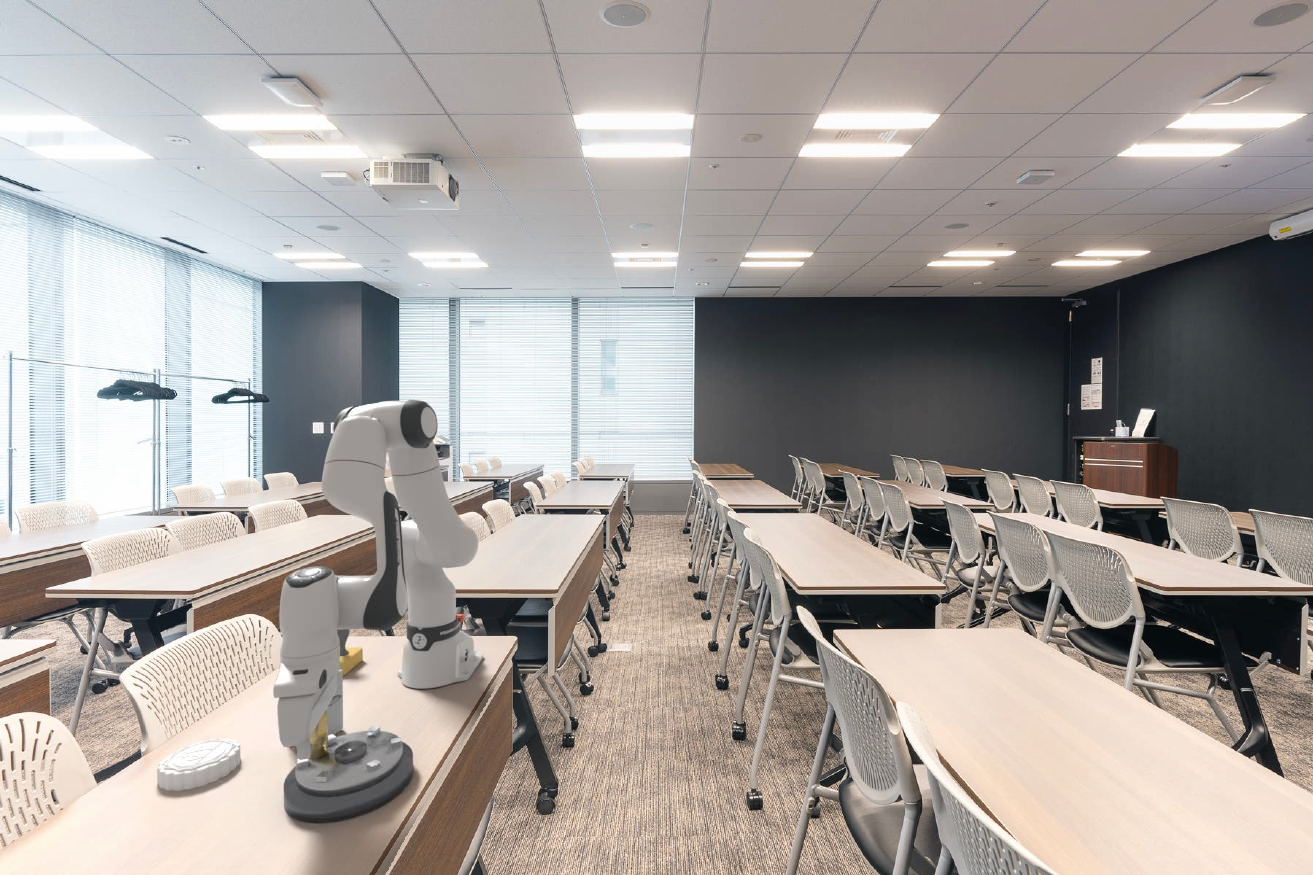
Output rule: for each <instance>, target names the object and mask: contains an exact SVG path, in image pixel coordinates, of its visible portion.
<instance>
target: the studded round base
mask: <svg viewBox="0 0 1313 875" xmlns="http://www.w3.org/2000/svg"><path fill="white" fill-rule="evenodd" d="M310 742H311V744H312V754H311V756H310V758H309V759H305V760H299V759H298V758H297V761H296V762H297V763H296V765H295V766H296V769H295V776H296V786H297V787H298V789H299V790H300V791H302V792H304V793H306V794H309V795H313V796H337V795H343V794H348V793H352V792H356V791H359V790H362V789H365V788H367V787H370V786H372V785H374V784H376V783H378V782H380V781H382V780H383V779H385V778H386V777H388V776H389V775H391V774H392V773H393V772H394V771H395V770H396V769H397V768H398V767H399V765H400V764H401V762H402V759H403V744H402V742H403V741H402V737H399V735H397V734H395V733H392V732H388V731H383V730H381V726H379V725H378V726H377V725H372V726H371V727H370V728H368V729H367V730H363V731H355V732H351V733H346V734H343V735H339V736H336V734H335V735H333V734H331V735H329V736H328V713H327V712H324V714H323V716H322V717H321V719H320V721H319V723H318V725H317V726H316V728H315V730H314V732H313V733H312V735H311V738H310Z"/></svg>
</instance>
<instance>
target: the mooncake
mask: <svg viewBox="0 0 1313 875" xmlns="http://www.w3.org/2000/svg"><path fill="white" fill-rule="evenodd" d="M240 764H241V744H240V743H239V742H238V741H237V740H233V739H231V738H225V739H224V738H220V737H219V738H217V737H216V738H214V739H213V738H212V739H206V740H203V741H198V742H195V743H194V744H190V745H185V746H182V747H181V748H180V749H178V750H174V751H173V752H172V753H171V754H169V755H166V757H164V758H163V760H162V761H160V762H159V764H158V767H157V769H156V777H157V779H156V782H157V785H158V786H159V789H162V790H163V789H164V790H165V791H166V792H167V791H174V792H179V791H180V792H181V791H183V790H186V791H189V790H192V789H195V788H200V787H204V786H207V785H208V784H209V783H215V782H217V781H219V780H221V778H224V777H227V776H228V775H229V774H230V772H233V771H235V770H236V769H237V766H239V765H240Z"/></svg>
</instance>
